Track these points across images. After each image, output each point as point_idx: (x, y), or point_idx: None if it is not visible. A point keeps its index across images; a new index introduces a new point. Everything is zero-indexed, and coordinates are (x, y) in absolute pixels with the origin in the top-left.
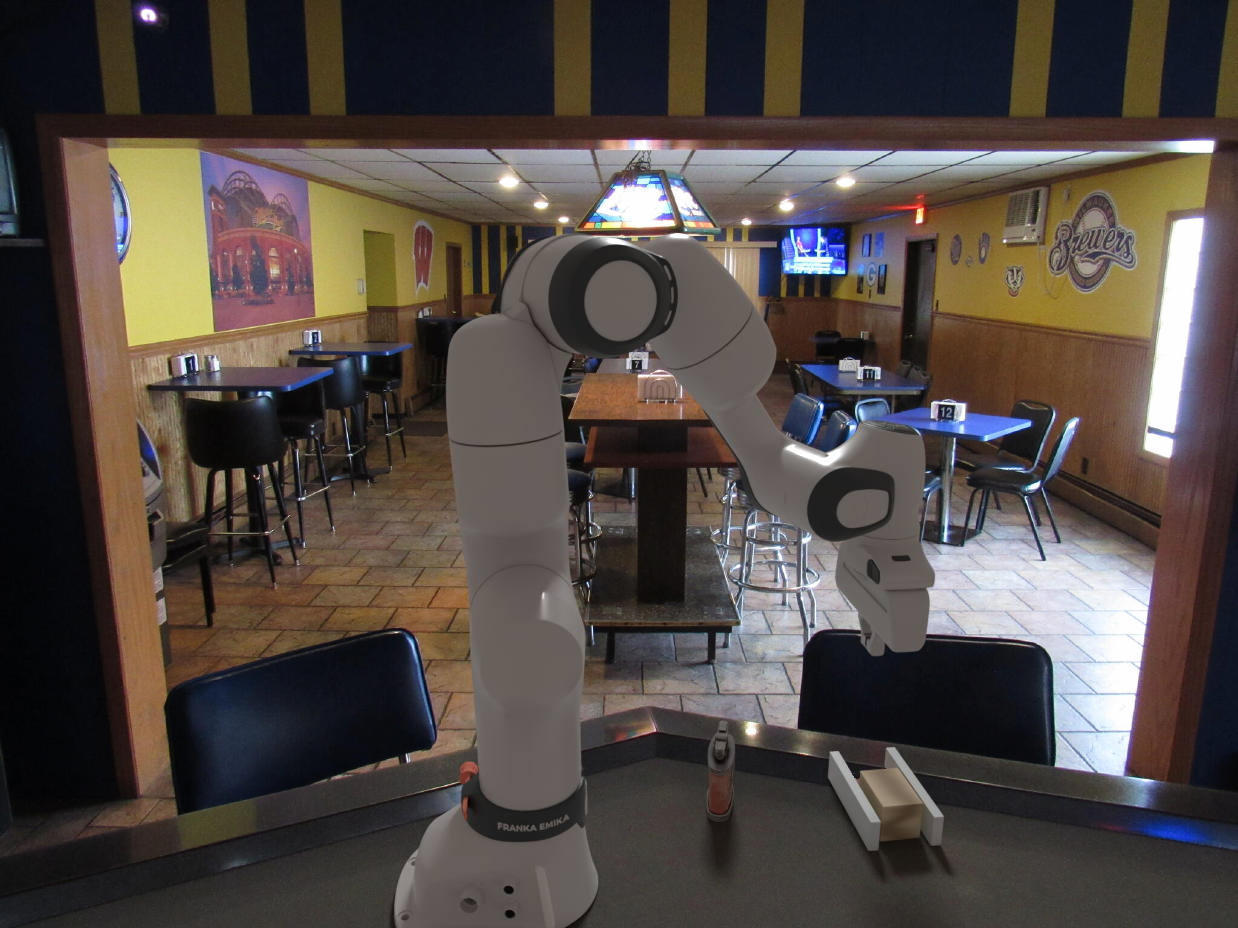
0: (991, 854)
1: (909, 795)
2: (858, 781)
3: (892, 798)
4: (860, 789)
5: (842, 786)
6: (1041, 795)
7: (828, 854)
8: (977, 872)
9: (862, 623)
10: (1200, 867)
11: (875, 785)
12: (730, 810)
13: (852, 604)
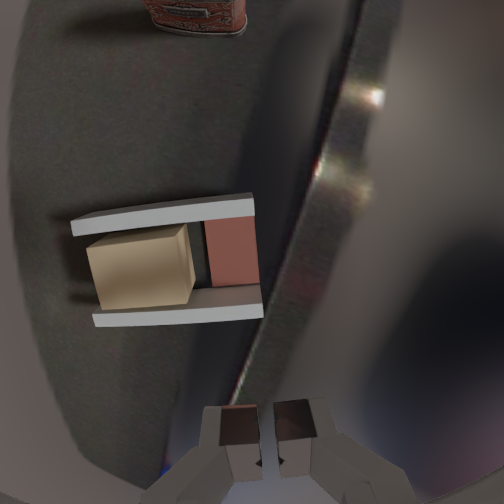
0: (106, 352)
1: (116, 297)
2: (234, 238)
3: (106, 268)
4: (142, 225)
5: (184, 202)
6: None
7: (85, 157)
8: (77, 326)
9: (349, 468)
10: (131, 475)
11: (135, 251)
12: (170, 30)
13: (454, 498)
